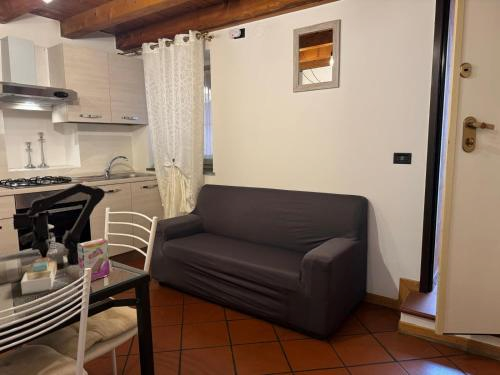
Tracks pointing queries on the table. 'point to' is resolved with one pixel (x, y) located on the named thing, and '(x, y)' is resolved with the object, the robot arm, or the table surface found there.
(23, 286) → the box
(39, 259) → the terracotta block
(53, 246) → the french press
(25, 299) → the table surface
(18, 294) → the table surface
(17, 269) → the table surface
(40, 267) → the mint green block
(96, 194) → the robot arm
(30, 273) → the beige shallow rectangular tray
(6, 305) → the table surface
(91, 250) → the candy bar box
